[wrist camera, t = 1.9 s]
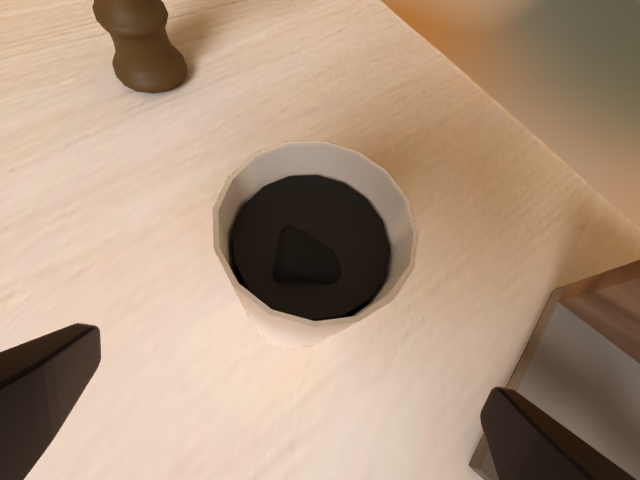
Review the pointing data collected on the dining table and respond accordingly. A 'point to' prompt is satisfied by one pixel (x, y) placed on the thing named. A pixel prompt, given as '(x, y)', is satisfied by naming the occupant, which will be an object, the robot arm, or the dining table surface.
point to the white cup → (312, 240)
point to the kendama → (141, 44)
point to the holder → (586, 367)
